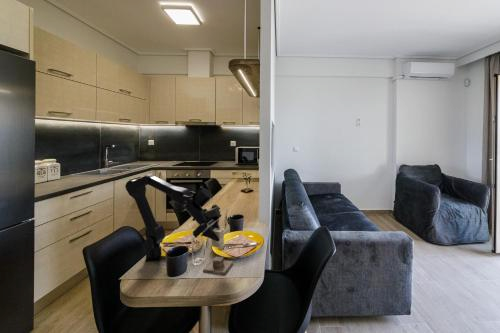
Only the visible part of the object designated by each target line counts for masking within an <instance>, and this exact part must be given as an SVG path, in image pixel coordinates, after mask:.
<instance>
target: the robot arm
mask: <svg viewBox="0 0 500 333" xmlns="http://www.w3.org/2000/svg"><path fill="white" fill-rule="evenodd" d="M148 185H149V186H150V187H152V188H154V189H155V190H159V191H160V192H162V193H164V194H166V195H168V196H169V198H170V199H171V200H172V201H174V202H175V203H176V204H178V205H181V209H180V210H181V213H182V212H185V211H186V212H188V214H189V215H190V216H191V217H192V219H191V220H192V221H193V222H196V223H197V224H198V226H197V227H196V228H195V229H194V230H193V231H192V236H193V237H194V238H195V239H196V238H198V237H199V236H201V237H205V238H207V239H208V238H209V239H210V240H212V239H213V240H215V241H217V242H218V241H219V238H218V237H217V235H216V234H215V233H214V231H213V229H214V228H220V224H219V223H220V219H221V217H222V214H221V211H220V210H221V206H219V205H217V204H214V205H211V208H210V209H207V208H203V206H205V205H206V204H207V203H208V202H209V201H210V200H211V199H212V198H213V193H212V192H211V190H210V189H208V188H206V187H204V186H202V185H201V186H199V187H198V188H197V190H196V191H191V190H190V189H188V188H186V187H182V186H176V185H173V184H171V183H170V182H167V181H166V180H163V179H161V178H159V177H157V176H155V175H154V174H152V173H151V174H150V173H149V174H146V175H144V176H142V177H140V178H139V177H138V178H134V179H131V180H128V181H126V184H124V186H125V187H124V188H125V190H126V191H127V193H128V195H129V197H132V199H133V200H134V201H135V204H136V205H137V209H138V211H139V213H140V216H141V219H142V221H143V224H144V227H145V233H144V234H145V235H144V236H145V240H144V241H143V242H142V243H141V248H142V250H145V262H152V261H159V260H161V257H162V254H163V253H162V252H163V250H162V246H161V244H162V243H163V241H164V239H165V237H166V231H165V229H164V226H163V225H162V224H161V225H160V224H158V223H157V221H156V219H155V216H154V214H153V212H152V208H151V205H150V204H149V201H148V199H147V197H146V196H147V195H146V192H147V186H148ZM184 203H185V204H184Z"/></svg>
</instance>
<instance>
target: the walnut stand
mask: <svg viewBox="0 0 500 333" xmlns="http://www.w3.org/2000/svg"><path fill="white" fill-rule="evenodd" d="M232 265H233V260H225V259H224V257H223V256H215V257H214V258H212V259H211V260H210V261H209V262H208V263H207V264H206V266H204V268H203V269H202V272H205V273H212V274H216V275H223V276H225V275H226V274H227V272H228V271H229V269H230V268H231V266H232Z"/></svg>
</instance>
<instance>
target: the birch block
mask: <svg viewBox="0 0 500 333" xmlns="http://www.w3.org/2000/svg"><path fill="white" fill-rule="evenodd" d="M213 231H214V233H215V234H216V235H217V237H218V238H219V241H218V242H217V241H215V240H213V239H211V247H214V248H221V247H222V246H224V244H225V240H224V239H225V238H224V236H225V235H224V233H225V232H224V231H225V230H224V228H214V229H213Z"/></svg>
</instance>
